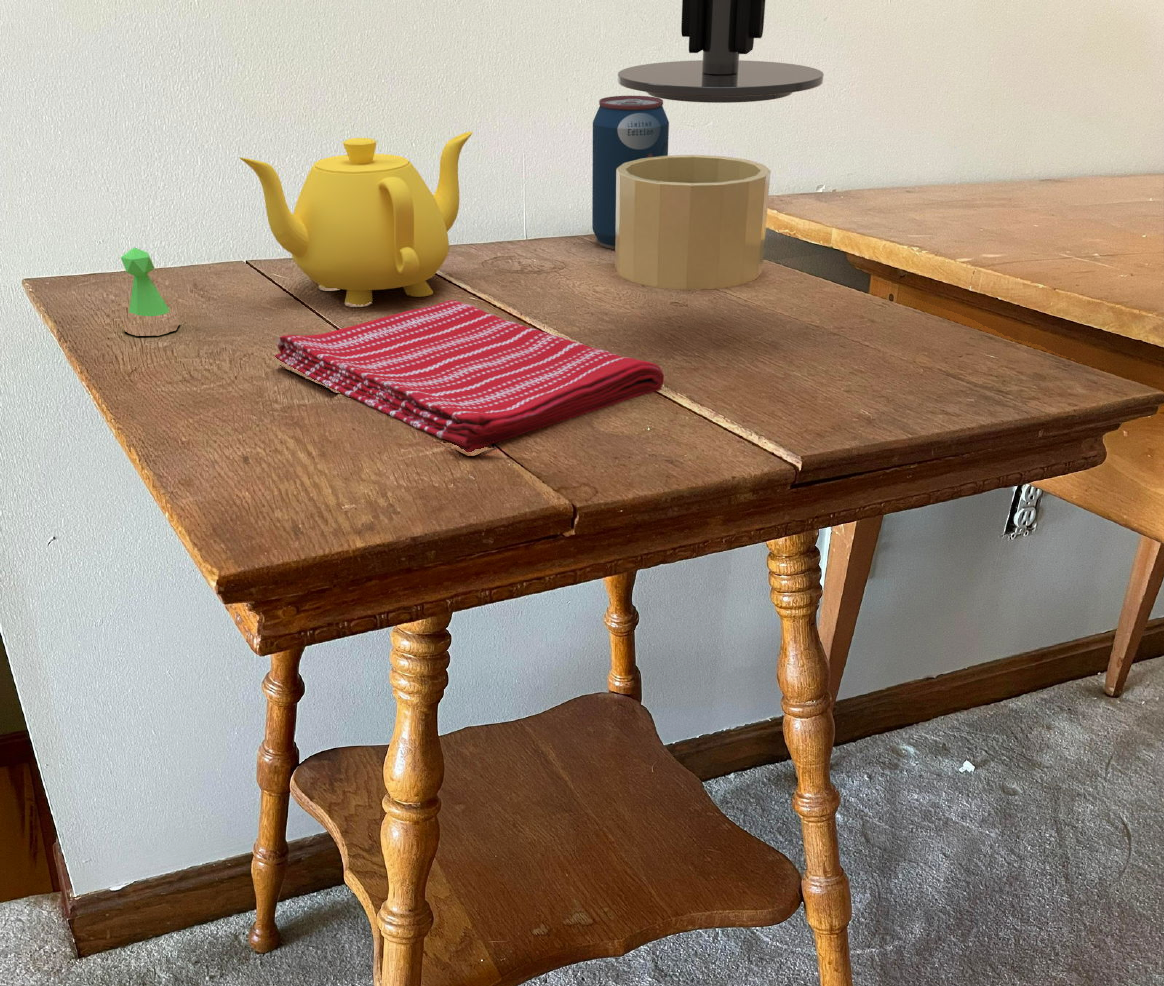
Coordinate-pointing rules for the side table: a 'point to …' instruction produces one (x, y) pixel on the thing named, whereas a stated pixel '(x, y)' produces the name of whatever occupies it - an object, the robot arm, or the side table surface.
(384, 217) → the teapot
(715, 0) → the lid
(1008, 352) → the side table surface
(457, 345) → the dish towel
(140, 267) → the game piece
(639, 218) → the pot
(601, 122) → the soda can
